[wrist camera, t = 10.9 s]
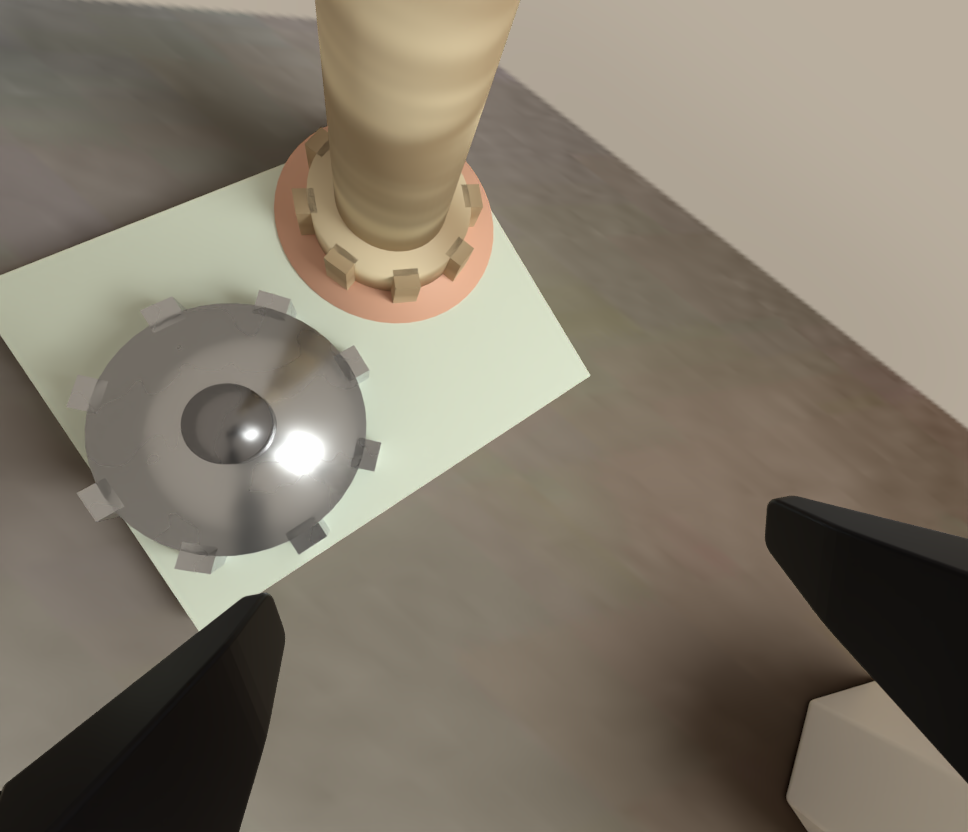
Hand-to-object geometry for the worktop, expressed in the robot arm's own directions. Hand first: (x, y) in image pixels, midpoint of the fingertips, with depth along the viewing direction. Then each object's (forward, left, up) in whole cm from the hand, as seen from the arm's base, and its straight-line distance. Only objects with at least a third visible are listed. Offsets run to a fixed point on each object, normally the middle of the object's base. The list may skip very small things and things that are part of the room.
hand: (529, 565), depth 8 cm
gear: (-4, +6, -10) cm, 12 cm away
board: (0, +8, -11) cm, 13 cm away
